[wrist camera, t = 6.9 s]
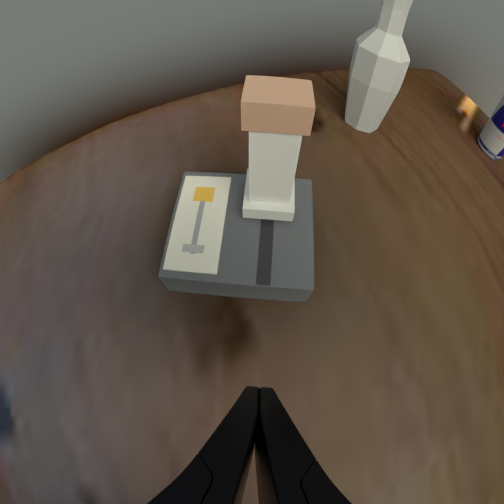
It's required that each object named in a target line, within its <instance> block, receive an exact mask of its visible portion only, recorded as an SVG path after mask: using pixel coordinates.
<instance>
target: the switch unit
mask: <svg viewBox="0 0 504 504" xmlns="http://www.w3.org/2000/svg"><path fill="white" fill-rule="evenodd" d="M246 176H247V174H234V173H213V172H184V175H183V178H182V182H181V185H180V189H179V192H178V196H177V200H176V203H175V207H174V211H173V215H172V219H171V223H170V227H169V231H168V235H167V239H166V243H165V248H164V252H163V257H162V261H161V266H160V270H159V275H158V277H159V279H160V280H161V281H162V283H163V284H164V285H165V287H166V288H167V289H168V290H169V291H178V292H187V293H197V294H207V295H218V296H228V297H240V298H252V299H265V300H279V301H294V302H307V301H308V299H309V297H310V296H311V294H312V293H313V291H314V228H313V199H312V180H310V179H300V178H295V213H294V217H293V221H281V220H268V219H255V218H243V210H242V208H243V200H244V192H245V184H246Z"/></svg>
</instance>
